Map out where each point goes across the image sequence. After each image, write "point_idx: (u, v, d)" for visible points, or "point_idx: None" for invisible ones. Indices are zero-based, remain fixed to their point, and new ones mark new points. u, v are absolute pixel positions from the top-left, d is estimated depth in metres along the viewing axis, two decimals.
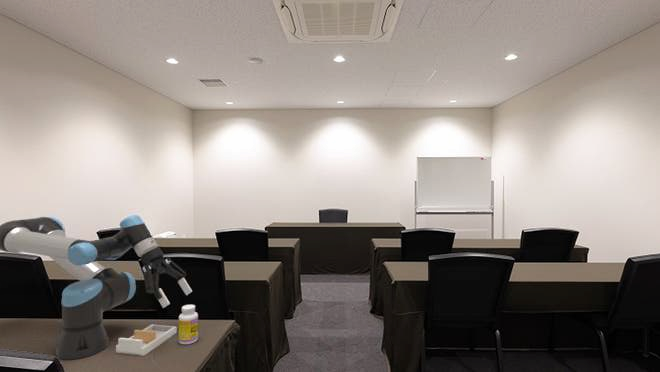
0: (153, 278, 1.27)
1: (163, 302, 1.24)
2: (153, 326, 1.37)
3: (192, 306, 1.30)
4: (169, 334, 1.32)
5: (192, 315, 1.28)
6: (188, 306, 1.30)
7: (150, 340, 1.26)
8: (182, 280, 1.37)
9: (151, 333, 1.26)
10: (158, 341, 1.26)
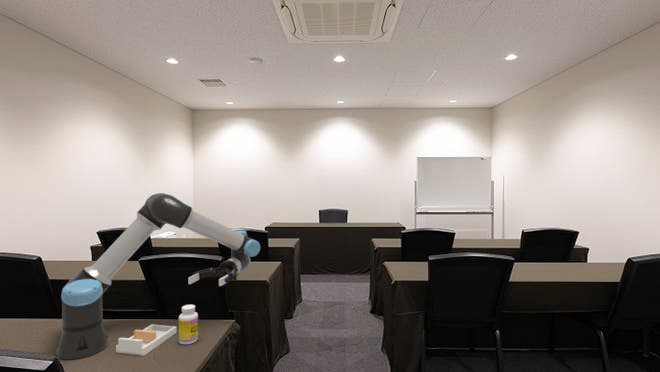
0: None
1: (222, 281, 1.40)
2: (153, 326, 1.37)
3: (192, 306, 1.30)
4: (169, 334, 1.32)
5: (192, 315, 1.28)
6: (188, 306, 1.30)
7: (150, 340, 1.26)
8: (198, 278, 1.47)
9: (151, 333, 1.26)
10: (158, 341, 1.26)
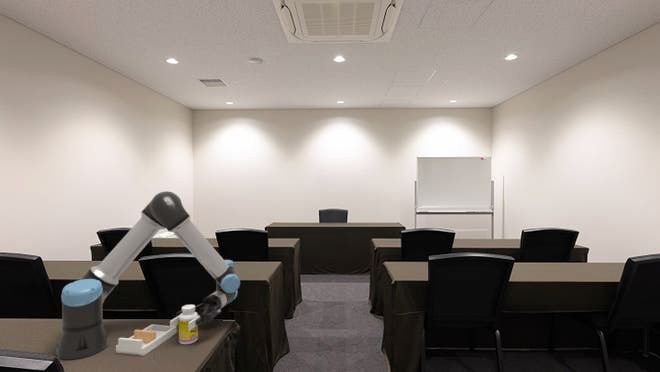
0: (207, 313, 1.36)
1: (192, 324, 1.26)
2: (153, 326, 1.37)
3: (192, 306, 1.30)
4: (169, 334, 1.32)
5: (192, 315, 1.28)
6: (188, 306, 1.30)
7: (150, 340, 1.26)
8: None
9: (151, 333, 1.26)
10: (158, 341, 1.26)
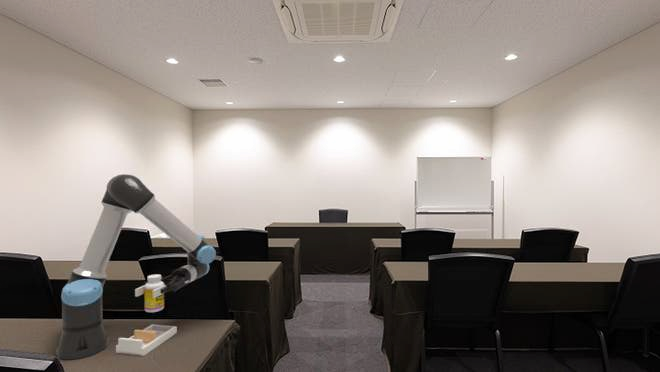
0: (174, 284, 1.38)
1: (157, 292, 1.28)
2: (153, 326, 1.37)
3: (158, 275, 1.32)
4: (169, 334, 1.32)
5: (157, 284, 1.30)
6: (154, 275, 1.32)
7: (150, 340, 1.26)
8: None
9: (151, 333, 1.26)
10: (158, 341, 1.26)
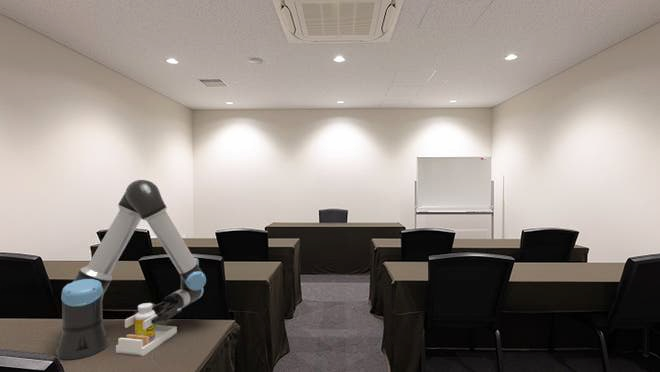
0: (165, 312, 1.33)
1: (147, 323, 1.23)
2: None
3: (149, 304, 1.27)
4: (169, 334, 1.32)
5: (148, 314, 1.26)
6: (145, 304, 1.27)
7: (143, 345, 1.23)
8: None
9: (144, 338, 1.22)
10: (158, 341, 1.26)
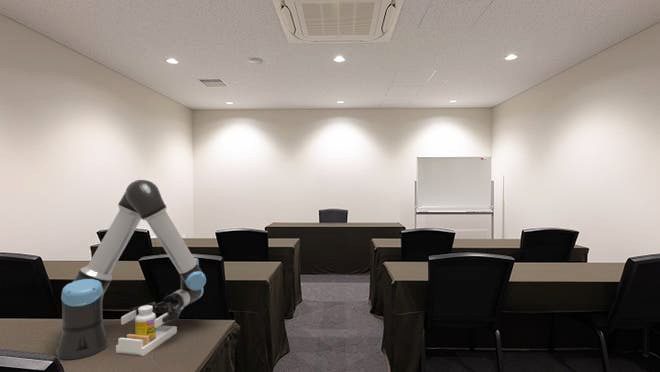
0: None
1: (159, 322, 1.24)
2: None
3: (149, 307, 1.28)
4: (169, 334, 1.32)
5: (149, 316, 1.26)
6: (145, 307, 1.28)
7: (143, 345, 1.23)
8: (134, 316, 1.31)
9: (144, 337, 1.23)
10: (158, 341, 1.26)
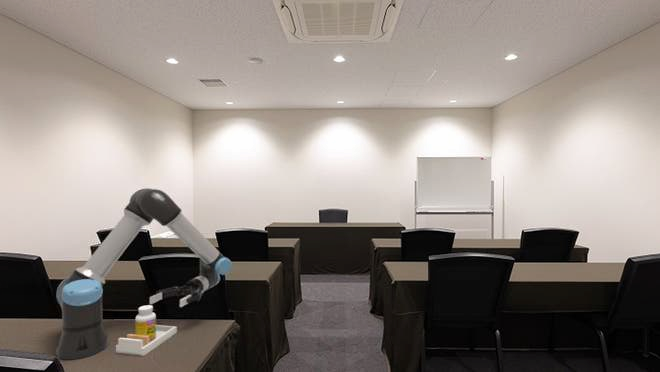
0: None
1: (183, 302, 1.38)
2: None
3: (149, 307, 1.28)
4: (169, 334, 1.32)
5: (149, 316, 1.26)
6: (145, 307, 1.28)
7: (143, 345, 1.23)
8: (160, 298, 1.45)
9: (144, 337, 1.23)
10: (158, 341, 1.26)
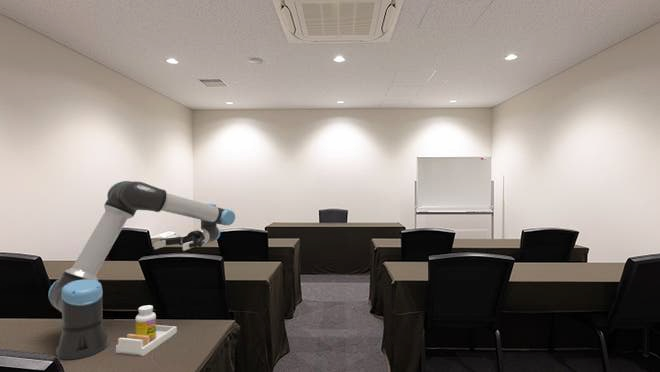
0: None
1: (186, 246, 1.46)
2: None
3: (150, 307, 1.28)
4: (169, 334, 1.32)
5: (149, 316, 1.26)
6: (145, 307, 1.28)
7: (143, 345, 1.23)
8: (164, 245, 1.53)
9: (144, 337, 1.23)
10: (158, 341, 1.26)
